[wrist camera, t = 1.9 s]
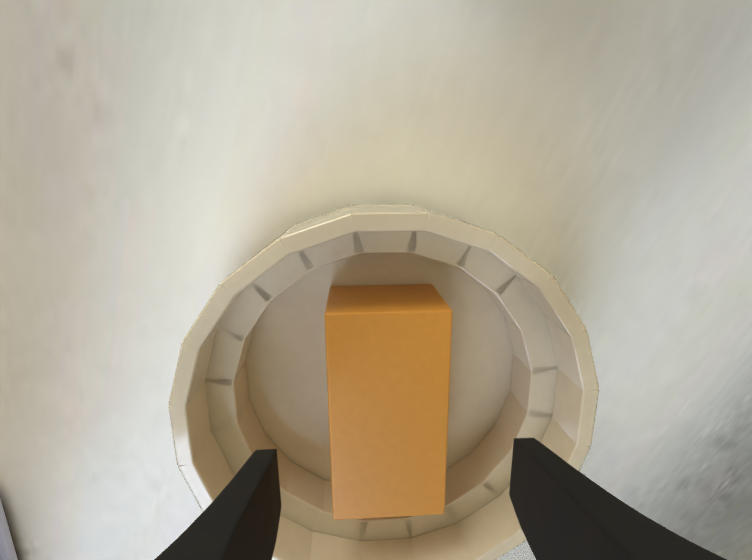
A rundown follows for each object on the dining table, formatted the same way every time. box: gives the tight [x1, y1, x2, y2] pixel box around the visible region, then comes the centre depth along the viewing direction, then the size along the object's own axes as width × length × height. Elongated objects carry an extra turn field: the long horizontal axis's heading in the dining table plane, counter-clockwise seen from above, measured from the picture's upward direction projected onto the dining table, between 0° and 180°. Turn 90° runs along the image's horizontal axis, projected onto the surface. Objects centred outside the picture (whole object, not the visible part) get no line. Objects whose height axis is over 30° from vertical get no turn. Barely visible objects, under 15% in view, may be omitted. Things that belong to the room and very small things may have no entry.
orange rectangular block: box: [324, 284, 453, 520], centre depth 16 cm, size 8×4×4 cm, turn 0°
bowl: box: [169, 204, 599, 560], centre depth 17 cm, size 15×15×4 cm
